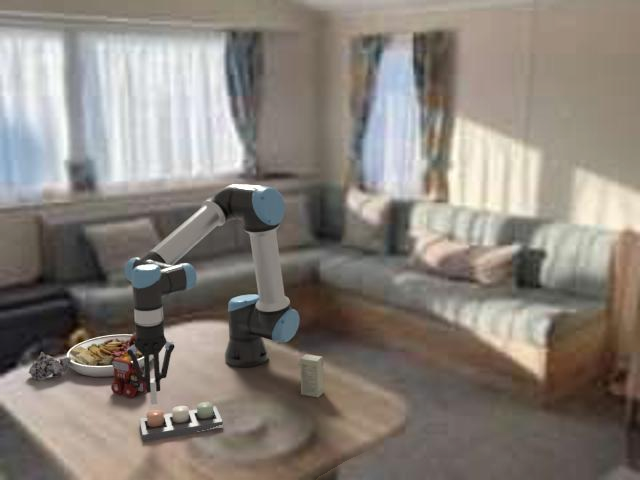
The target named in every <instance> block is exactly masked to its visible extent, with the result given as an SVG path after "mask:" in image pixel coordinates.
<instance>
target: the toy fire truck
mask: <svg viewBox="0 0 640 480" xmlns="http://www.w3.org/2000/svg"><path fill="white" fill-rule="evenodd" d="M112 364H113V368H114V376H113V378H114V380H113V382H112V384H111V386H110V388H111V391H112V393H113V394H114V395H121V394H122V393H124V396H125V397H126V398H127V399H128V398H130V399H132V398H133V397H135V396H136V393H137V392H141V393H143V392H145V391H146V383H145V382H144V381H139V378H138V376H137V373H136V370H135V367H134V364H133V363H132V362H130V361H126V360H121V359H115V360H113V362H112ZM140 369H141V372H142V375H145V373H144V372H143V369H142V368H140Z"/></svg>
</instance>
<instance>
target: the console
mask: <svg viewBox="0 0 640 480" xmlns="http://www.w3.org/2000/svg"><path fill="white" fill-rule="evenodd" d="M213 414H214V416H215V418H216V419H214V418H211V419H207V420H202V421H198V418H199V417H198V416H197V408H196V409H195V408H194V409H189V419H188V420H187V421H186V422H188V421H189V423H182V424H178V425H177V424H176V423H177V422H174V421H173V419H172V412H169V413H164V423H163V424H162V425H164V426H165V427H159V428H154V429H147V428H150V427H151V426H148V425H147V416H146V417H140V418H139V426H140V432H141V438H142V442H149V441H154V440H161V439H165V438H172V437H177V436H183V435H191V434H195V433H194V432H196V433H198V432H197V431H202V430H207V429H210V428H213V427H216V426H219V425H222V424H224V423H223V422H224V421H223V419H222V416H221V415H220V412H219V410H218V408H217V406H216V405H213ZM214 416H213V417H214ZM173 423H175V424H176V425H172V424H173ZM162 425H161V426H162ZM202 432H203V431H202Z"/></svg>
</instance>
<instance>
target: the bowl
mask: <svg viewBox="0 0 640 480" xmlns="http://www.w3.org/2000/svg"><path fill="white" fill-rule="evenodd" d="M135 339H136V332H134V333H132V334H124V333H123V334H110V335H103V336H97V337H94V338H90V339H87V340H85V341H82V342H80V343H77V344H75V345H74V346H73V347H70V349H69V350H68V351H67V353H66V357H71V361H70V363H69V368H70V369H72V370H73V371H74V372H76V373H78V374H80V375H83V376H87V377H95V378H106V377H108V378H110V377H114V368H113V364H112V362H113V360H115V359H121V360H126V361H130V362H132V363H133V361H132V358H131V357H130V356H129V355H128V353H127V348H128V347H131V346H133V345H134V341H135ZM136 357H137V360H138V363H139V366H140V368H141V369H142V368H143V367H144V355H143V354H142V353H141V352H140V351H139V350H138V349H137V348H136ZM152 360H154V358H153V355H149V363H151V361H152Z"/></svg>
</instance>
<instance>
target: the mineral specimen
mask: <svg viewBox="0 0 640 480" xmlns="http://www.w3.org/2000/svg"><path fill="white" fill-rule="evenodd" d="M70 361H71V357H67V356H66V357H63V358H59V360H57V359H55V358H54V356H50V355H49V354H45V352H43V351H41V352H40V355H39V356H38V357H37V360H33V361H32V365H31V366H30V368H29V370H28V374H29V375H30V377H31V378H32V379H34V380H36V381H39V382H40V381H46V380H47V379H48V377H50V376H51V377H53V378H56V377H57V378H59V377H60V378H61V377H62V376H63V374H64V373H66V372H67V371H68V369H69V368H70V366H69V363H70Z"/></svg>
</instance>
